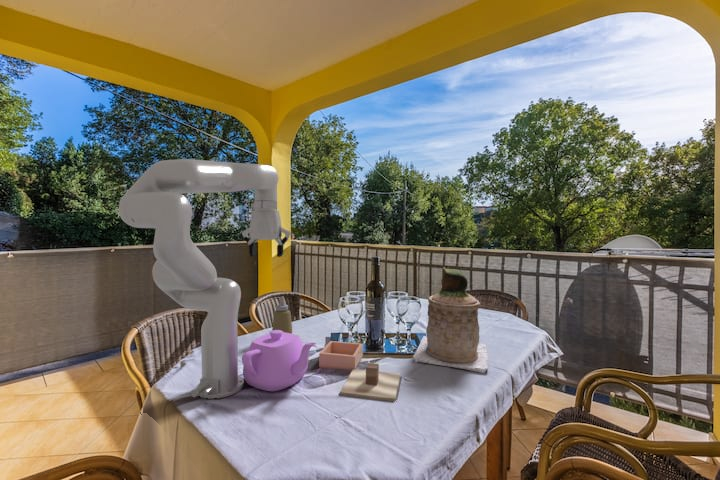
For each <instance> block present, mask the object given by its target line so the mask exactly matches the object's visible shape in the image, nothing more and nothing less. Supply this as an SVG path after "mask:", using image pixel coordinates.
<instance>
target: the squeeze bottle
mask: <svg viewBox="0 0 720 480" xmlns="http://www.w3.org/2000/svg"><path fill="white" fill-rule="evenodd" d="M275 308H276V309H275V311H274V312H273V317H272V318H273V319H272V321H273V322H272V329H271V331H273V330H281V331H283V332H286V333H291V334H293V323H292V313H291V311H290V310H289V305H288V304H286V302H285V297H284V295H283V296H280V300H279V304H277V305H276V307H275Z"/></svg>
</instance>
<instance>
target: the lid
mask: <svg viewBox="0 0 720 480" xmlns="http://www.w3.org/2000/svg"><path fill="white" fill-rule="evenodd" d="M379 365H380V364H379V363H376V362H375V363H374V362H367V364H366V365H365V370H364V369H359V368H356V369H353V370H352V371H350V373H351V374H350V373H349V375H350V376H349V375H348V377H347V379H346V380H347V381H345V382H346V383H344V384H343V386H342V387H343V388H341V389H342V390H340V391H339V393H340V395H339V396H344V395H346V397H353V396H355V398H361V397H362V399H369V398H371V400H377V399H380V400H379V401H386V400H387V401H388V402H394V401H395V399H396V395H397V390H398V386H399V381H400V377H401V373H397V372H387V371H380V370H379V367H380V366H379ZM387 401H386V402H387Z"/></svg>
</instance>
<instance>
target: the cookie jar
mask: <svg viewBox="0 0 720 480" xmlns="http://www.w3.org/2000/svg"><path fill="white" fill-rule="evenodd" d="M442 270H443V273H442V278H441V279H440V281H441V289H439V291H438V292H436V293H435V294H433V295H430V296H429V297H428V298H427V300H428V305H427V316H428V319H427V320H428V322H427V326H426V330H425V333H426V335H423V336H422V338H421V340H420V342H419V345H418V347H417V349H416V350H415V352H414V354H412V358H413V360H414V363H423V364H424V363H425V364H430V365H434V366H435V365H436V366H444V367H450V368H456V369H461V370H467V371H471V372H476V373H481V374H484V373H486V371H488V370H489V365H488V364H489V363H488V359H489V357H488V351H487V345H486V344H484V343H480V325H479V318H478V317H479V309H480V308H481V303H480V301H479V299H477V298H475V296H473V295H471V294H470V293H468V292H467V291H466V290H467V289H468V283H469V282H468V279H467V277H466V276H465V275H464V274H463V272H462V271H461V270H459V269H457V268H456V269H455V268H454V269H447V268H445V266H444V267H442Z"/></svg>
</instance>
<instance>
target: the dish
mask: <svg viewBox="0 0 720 480" xmlns="http://www.w3.org/2000/svg"><path fill="white" fill-rule="evenodd" d="M363 358H364V343H359V342H348V341H347V342H345V341H335V340H334V341H333V340H330V341H329V342H328V343H327V344H326V345H325V346H324V348H323V349H322V350H321V351H320V352H319V353H318V359H319V361H318V363H319V364H318V365H319V366H318V367H319V368H322V369H329V370H330V369H331V370H341V371H342V370H343V371H350V372H352V370H353V369H358V366H359V364H360V363H361V361H362V359H363Z"/></svg>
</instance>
